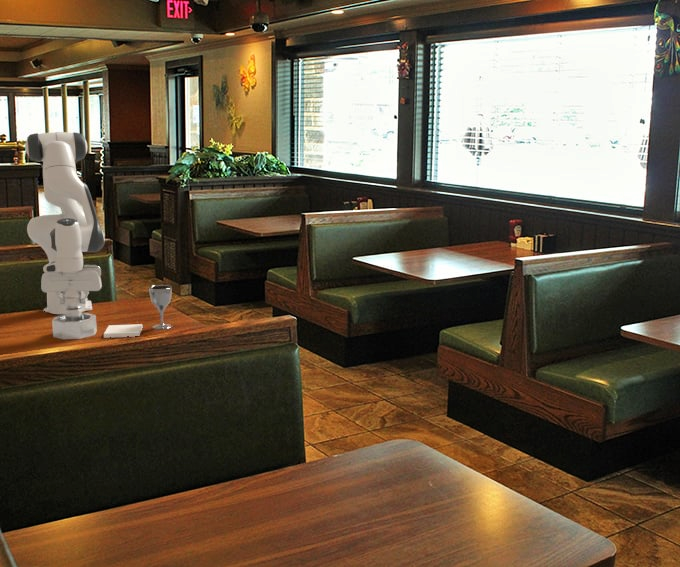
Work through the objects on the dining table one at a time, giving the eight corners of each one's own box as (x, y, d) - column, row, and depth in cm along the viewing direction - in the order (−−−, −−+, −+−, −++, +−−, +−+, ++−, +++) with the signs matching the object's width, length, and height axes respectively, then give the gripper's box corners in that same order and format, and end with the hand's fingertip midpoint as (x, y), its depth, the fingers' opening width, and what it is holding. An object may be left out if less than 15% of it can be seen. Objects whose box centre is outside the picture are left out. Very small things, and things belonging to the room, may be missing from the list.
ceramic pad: (109, 329, 289) (108, 325, 288) (142, 328, 290) (142, 324, 290) (103, 337, 277) (103, 333, 277) (138, 336, 279) (138, 332, 278)
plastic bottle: (87, 331, 285) (84, 277, 281) (80, 336, 279) (76, 281, 275) (70, 331, 286) (66, 277, 282) (62, 336, 279) (58, 280, 275)
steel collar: (59, 329, 288) (58, 313, 287) (98, 328, 290) (97, 312, 289) (50, 339, 275) (49, 323, 274) (92, 338, 276) (90, 321, 275)
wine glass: (154, 330, 287) (152, 290, 284) (148, 325, 294) (146, 286, 291) (175, 327, 290) (174, 287, 287) (169, 323, 297) (168, 284, 294)
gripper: (102, 262, 282) (104, 300, 285) (42, 264, 279) (45, 302, 282) (99, 265, 276) (101, 304, 278) (38, 267, 273) (41, 306, 276)
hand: (73, 303), depth 280 cm, fingers closed on plastic bottle, 6 cm apart
